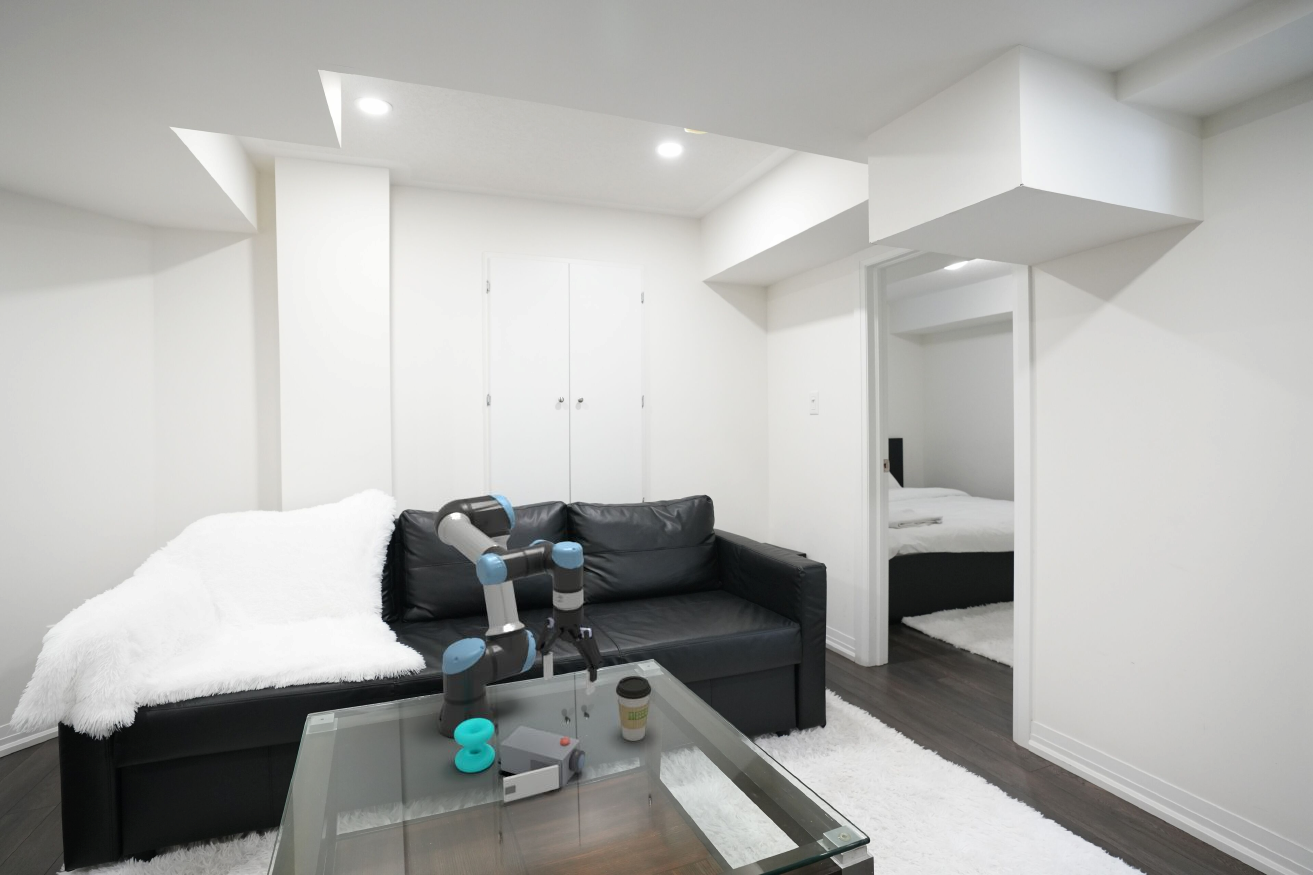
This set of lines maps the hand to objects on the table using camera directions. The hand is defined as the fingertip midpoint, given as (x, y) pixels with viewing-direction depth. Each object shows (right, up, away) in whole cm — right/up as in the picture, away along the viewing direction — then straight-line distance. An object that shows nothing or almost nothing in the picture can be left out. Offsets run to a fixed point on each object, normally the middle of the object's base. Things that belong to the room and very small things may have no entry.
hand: (568, 685), depth 161 cm
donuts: (-25, -22, +4) cm, 33 cm away
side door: (-7, -23, -9) cm, 25 cm away
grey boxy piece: (-6, -22, +1) cm, 23 cm away
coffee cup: (+16, -20, +17) cm, 31 cm away
